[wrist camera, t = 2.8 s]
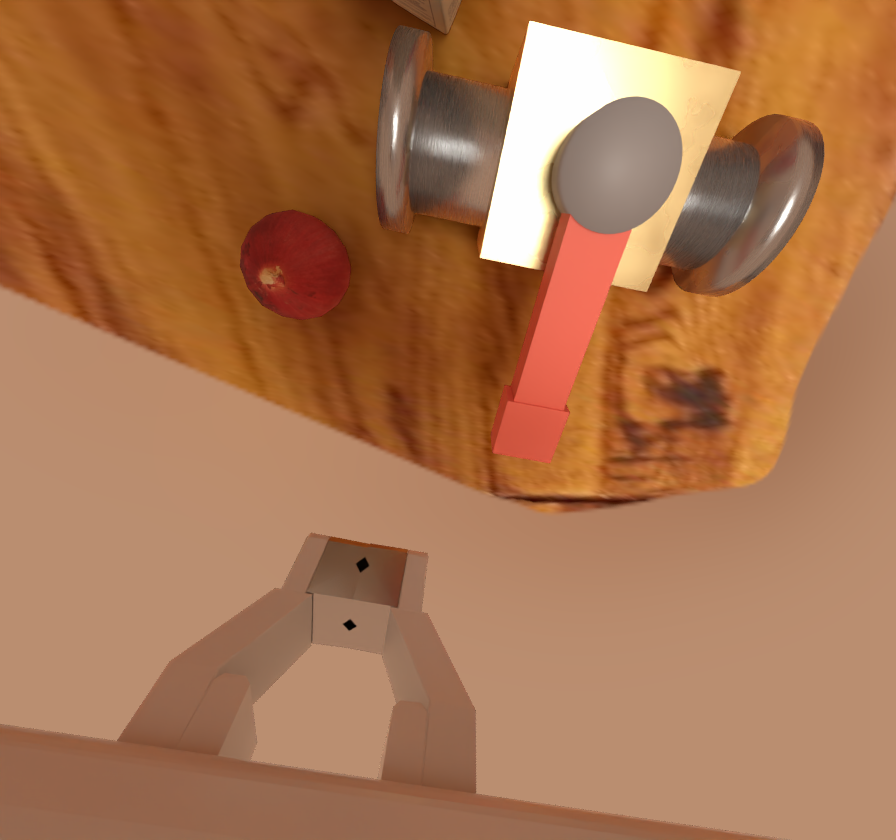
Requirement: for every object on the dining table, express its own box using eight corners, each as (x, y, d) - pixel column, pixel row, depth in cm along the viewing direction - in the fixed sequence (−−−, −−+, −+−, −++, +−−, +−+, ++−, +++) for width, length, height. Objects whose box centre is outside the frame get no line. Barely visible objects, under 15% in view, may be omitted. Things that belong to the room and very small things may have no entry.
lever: (571, 97, 14) (585, 83, 12) (676, 121, 14) (705, 111, 13) (481, 431, 21) (483, 452, 20) (552, 444, 21) (559, 466, 20)
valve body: (397, 224, 25) (366, 236, 17) (415, 58, 21) (384, -23, 13) (672, 281, 25) (758, 316, 18) (739, 133, 22) (887, 98, 14)
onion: (314, 318, 28) (262, 358, 21) (256, 242, 25) (177, 259, 18) (379, 275, 26) (348, 302, 19) (324, 189, 24) (265, 185, 17)
